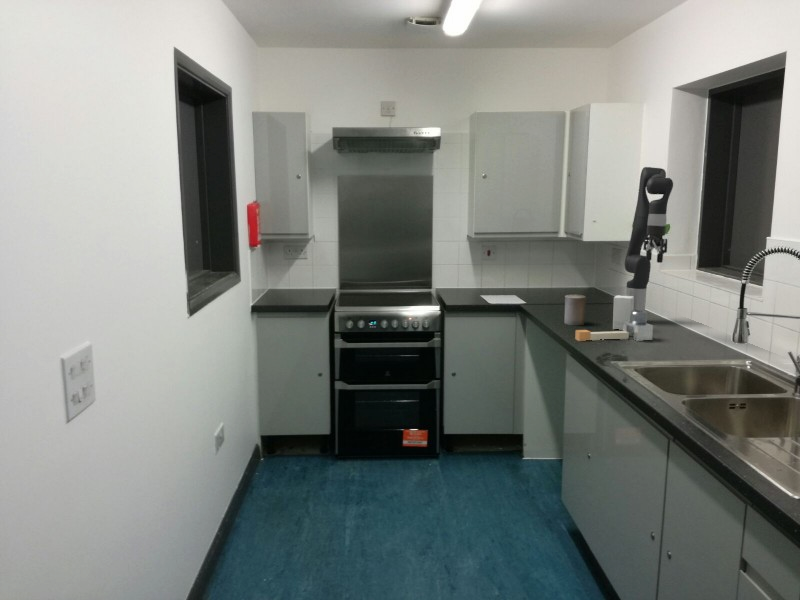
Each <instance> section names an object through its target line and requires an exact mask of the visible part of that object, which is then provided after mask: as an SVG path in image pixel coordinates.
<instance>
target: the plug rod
mask: <svg viewBox="0 0 800 600" xmlns="http://www.w3.org/2000/svg"><path fill="white" fill-rule="evenodd" d="M574 334H575V335H574V336H575V337H574V339H575V340H576V341H578V342H587V341H586V340H592V341H605V340H604V339H620V340H629V337H630V336H629V332H626V331H623V330H616V331H615V330H613V331H590V330H587V329H576V330H575V333H574ZM600 339H602V340H600Z"/></svg>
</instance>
